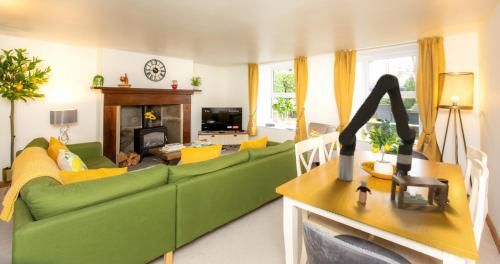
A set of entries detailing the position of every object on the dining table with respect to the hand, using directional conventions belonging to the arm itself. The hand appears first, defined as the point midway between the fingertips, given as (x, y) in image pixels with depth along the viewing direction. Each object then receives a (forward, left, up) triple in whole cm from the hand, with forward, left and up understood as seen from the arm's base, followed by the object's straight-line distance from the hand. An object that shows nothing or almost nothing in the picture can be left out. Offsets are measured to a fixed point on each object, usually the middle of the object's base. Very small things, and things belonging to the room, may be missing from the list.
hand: (401, 188), depth 144 cm
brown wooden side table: (+1, -17, -3) cm, 17 cm away
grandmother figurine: (-25, -19, -3) cm, 32 cm away
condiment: (+17, -8, -3) cm, 19 cm away
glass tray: (0, -14, -3) cm, 14 cm away
